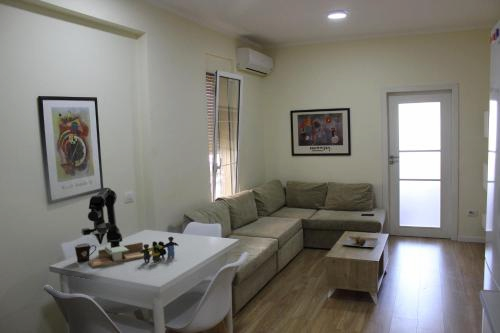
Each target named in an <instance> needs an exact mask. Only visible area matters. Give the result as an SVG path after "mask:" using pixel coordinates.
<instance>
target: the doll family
mask: <svg viewBox="0 0 500 333" xmlns="http://www.w3.org/2000/svg"><path fill="white" fill-rule="evenodd" d="M174 239H175V238H174V237H173V236H169V237H168V239H167V240H168V241H169V242H167V243H164V242H163V241H162V240H160V241H159V242H157V241H152V244H151V247H150V245H149V244H147V243H145V244H143V250H142V251H140V253H144V258H143V261H144V263H145V264H146V263H147V262H150V261H152V262H153V263H155V264H157V262H160V260H161V259H162V260H165V255H167V257H166V259H167V260H168V259H169V260H171V259H175V253H176V252H175V247H176V246H177V247H178V246H179V244H178V243H177V242H174ZM166 248H167V250H166ZM149 253H150V254H151V256H152V257H150V254H149ZM151 258H152V259H151Z"/></svg>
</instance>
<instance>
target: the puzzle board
mask: <svg viewBox="0 0 500 333" xmlns="http://www.w3.org/2000/svg"><path fill="white" fill-rule="evenodd" d="M143 245H144V244H143V242H135V243H129V244H125V245H123V246H124V247H125V248H127V249H129V251H125V252H122V260H117V261H113V260H112V254H109V253H107V252H106V251H105V248H103V249H98V250H97V251H98V258H94V259H89V261H88V264H89V265H90V266H91V267H92V268H93V269H98V268H102V267H107V266H111V265H117V264H121V263H127V262H132V261H137V260H141V259H144V253H140V251H142V250H143V249H144V246H143ZM120 246H121V245H120ZM120 246H119V247H120ZM113 248H115V247H113ZM149 254H150V258H153V256H151V255H152V253H151V252H149Z"/></svg>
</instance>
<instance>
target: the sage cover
mask: <svg viewBox="0 0 500 333" xmlns="http://www.w3.org/2000/svg"><path fill="white" fill-rule="evenodd" d="M104 249H105V251H106V252H107V253H109V254H115V253H120V252H125V251H129V249H127V248H125V247H124V245H120V247H115V248H111V247H108V246H107V245H106V246H104Z"/></svg>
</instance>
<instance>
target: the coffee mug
mask: <svg viewBox="0 0 500 333" xmlns="http://www.w3.org/2000/svg"><path fill="white" fill-rule="evenodd" d="M92 247H94V248H95V249H94V250H93V251H92V252H91V253H90V250H91V248H92ZM74 250H75V255H76V261H77V262H78V263H86V262H89V260H90V257H91V256H92V255H93V254H94V253H95V252H96V251H97V246H96V245H94V244H93V245H91V244H90V243H87V242H85V243H78V244H75V245H74Z"/></svg>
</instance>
